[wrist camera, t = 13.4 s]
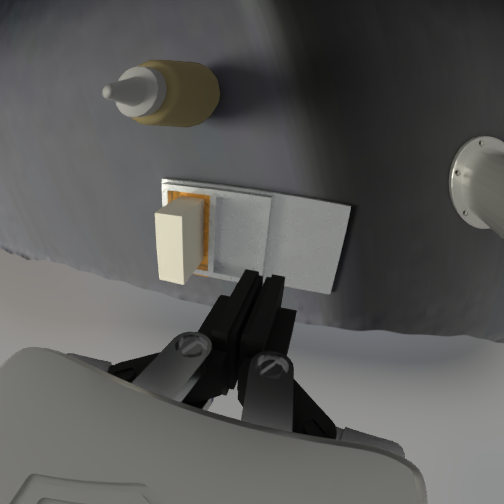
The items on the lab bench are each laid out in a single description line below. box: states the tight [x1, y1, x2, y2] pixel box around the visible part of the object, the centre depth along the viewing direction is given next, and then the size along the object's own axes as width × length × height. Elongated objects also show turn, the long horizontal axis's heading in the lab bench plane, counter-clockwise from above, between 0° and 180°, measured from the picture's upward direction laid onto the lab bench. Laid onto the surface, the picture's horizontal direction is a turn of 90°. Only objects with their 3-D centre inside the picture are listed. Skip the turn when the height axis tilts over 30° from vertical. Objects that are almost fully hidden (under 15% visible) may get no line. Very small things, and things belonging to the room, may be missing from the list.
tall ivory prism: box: [155, 196, 205, 285], centre depth 38 cm, size 4×9×7 cm, turn 175°
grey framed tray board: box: [162, 178, 351, 294], centre depth 39 cm, size 25×13×2 cm, turn 84°
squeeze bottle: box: [103, 60, 220, 127], centre depth 25 cm, size 8×8×18 cm
